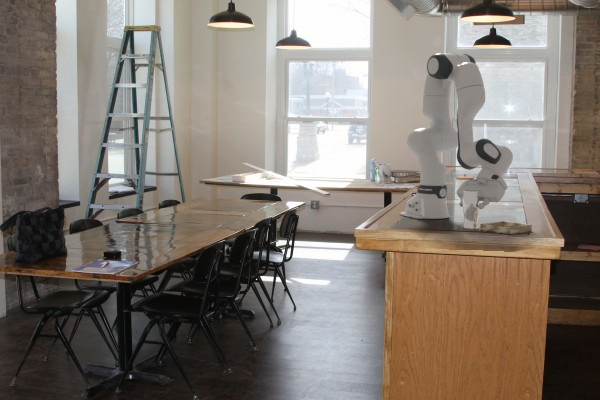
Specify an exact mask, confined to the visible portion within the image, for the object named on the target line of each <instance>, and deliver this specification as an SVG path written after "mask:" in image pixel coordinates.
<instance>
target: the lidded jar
mask: <svg viewBox="0 0 600 400" xmlns="http://www.w3.org/2000/svg"><path fill="white" fill-rule="evenodd" d="M469 179H472V180H475V177H474V176H469V175H468V176H467V174H465V173H464V174H463V176H462V175H461V176H459V175H458V176H456V177H455V184H456V187H457V189H459V187H460V186H461V185H462V184H463V183H464V182H465V181H467V180H469Z"/></svg>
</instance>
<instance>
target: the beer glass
mask: <svg viewBox="0 0 600 400" xmlns="http://www.w3.org/2000/svg"><path fill="white" fill-rule="evenodd" d="M479 203H482V201H481V197H480V190H463V199H462V205H463V207H462V212H463V219H464V221H463V226H462V228H463V230H478V228H479V227H480V226H479V215H480V210H481V209H479V208H478V205H479ZM479 229H480V228H479Z"/></svg>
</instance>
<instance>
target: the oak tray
mask: <svg viewBox="0 0 600 400" xmlns="http://www.w3.org/2000/svg"><path fill="white" fill-rule="evenodd" d="M532 226H533V224H530V223H529V224H528V223H522V222H516V221H515V222H514V221H508V220H507V221H506V220H498V221H492V222H486V223H480V226H479V227H480V228H479V230H484V231H483V232H486V231H490V232H489V233H493V232H495V233H494V234H499V233H502V234H501V235H506V234H512V235H517V234H518V233H519V234H524V233H525V234H526V233H530V232H532V231H533V227H532Z"/></svg>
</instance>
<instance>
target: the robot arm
mask: <svg viewBox="0 0 600 400" xmlns="http://www.w3.org/2000/svg"><path fill="white" fill-rule="evenodd" d="M476 63H477V62H476V60H475V58H474V57H473V56H472V55H469V54H466V53H459V52H458V53H457V52H451V53H450V52H449V53H448V52H447V53H442V52H441V53H440V52H439V53H436V54H433V55H431V56H430V57H429V58H428V61H427V64H426V71H427V75H426V78H425V82H424V87H423V97H422V98H423V99H422V100H423V101H422V114H423V116H424V117H426V118H427V119H428V120H429V124H430V127H420V128H416V129H413V130H411V131H410V132H409V134H408V135H407V136H408V137H407V142H406V143H407V146H408V148H409V150H410V151H411V152H412V153H413V154H414V156H416V157H415V158H416V159H417V162H418V166H419V176H420V178H419V179H420V180H419V182H420V183H419V185H416V186H415V189H416V190H417V191H416V194H414V195H413V196H412V197H411V198H409V199H408V200H407V201H406V203H405V209H404V211H401V212H400V213H399V216H405V217H407V218H413V219H419V220H422V219H424V220H428V219H432V220H433V219H439V220H440V219H447V218H450V214H449V211H448V210H449V209H448V204H447V194H448V191H447V190H448V187H447V186H448V185H447V167H446V165H445V164H444V163H442V162H441V161H440V159H439V156H438V155H439V154H440V153H443V154H444V153H448V152H452V151H455V150H456V149H457V152H456V160H457V162H458V164H459V166H461V167H462V168H463V169H465V170H470V171H471V170H474V169H476V168H477V167H479V166H480V167H481V169H480V171H479V173H478V174H477V175H476V177H475V179H474V180H472V179H469V180H467V181H465V182H464V183H463V184H462V185H461V186H460V187H459V188H457V190H456V195H457V196H458V198H459V199H460V202H459V204H458V205H459V206H460V207H461V208H463V205H462V199H463V190H480V197H481V202H480V203H479V205H478V208H479V209H480V210H483V209H484V208H485V207H486V206H488V205H489V204H490V203H499V202H501V200H502V199H503V197H504V196H505V194H506V191H507V190H508V188H509V186H508V184H507V182H506V181H505V180H504V178H503V176H504V175H505V174H506V173H507V172H508V170H509V168H510V167H511V165H512V162H513V161H514V158H513V157H514V155H513V152H512V150H511V149H510V148H509V147H508V146H505V145H499V144H496V143H495V142H493V141H491V140H490V139H488V138H480V139H478V140H475V141H474V131H473V130H474V129H473V122H474V120H475V118H476V116H477V114H478V113H479V112H480V111H481V109H483V107H484V105H485V103H486V91H485V89H486V88H485V85H484V80H483V77H482V74H481V70H480V68H479V66H478V65H477V64H476ZM453 82H454V84H455V90H456V91H455V92H456V96H457V97H456V99H457V110H456V129H457V130H456V129H455V128H454V126H453V124H452V122H451V118H450V95H451V94H450V91H451V85H452V83H453Z"/></svg>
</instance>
